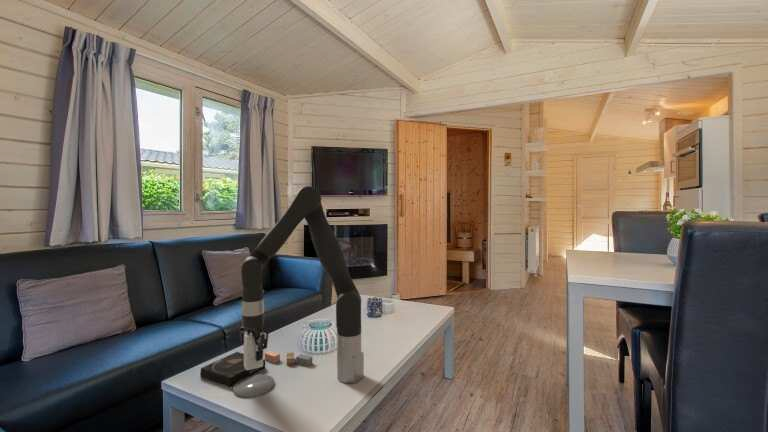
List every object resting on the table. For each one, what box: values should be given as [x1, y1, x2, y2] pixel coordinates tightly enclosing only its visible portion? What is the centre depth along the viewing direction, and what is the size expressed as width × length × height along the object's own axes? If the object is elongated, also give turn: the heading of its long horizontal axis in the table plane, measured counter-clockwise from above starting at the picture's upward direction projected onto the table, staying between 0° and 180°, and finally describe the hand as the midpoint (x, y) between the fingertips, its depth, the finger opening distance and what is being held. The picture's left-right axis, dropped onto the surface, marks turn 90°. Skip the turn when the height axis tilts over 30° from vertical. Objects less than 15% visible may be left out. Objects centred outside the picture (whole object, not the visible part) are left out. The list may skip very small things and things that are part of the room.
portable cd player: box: [199, 351, 266, 388], centre depth 137 cm, size 16×17×4 cm
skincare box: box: [243, 333, 264, 370], centre depth 126 cm, size 6×4×12 cm
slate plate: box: [232, 374, 275, 398], centre depth 127 cm, size 14×14×1 cm
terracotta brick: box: [264, 350, 281, 364], centre depth 148 cm, size 6×3×3 cm, turn 57°
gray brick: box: [295, 353, 313, 367], centre depth 145 cm, size 6×3×3 cm, turn 64°
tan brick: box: [286, 351, 295, 366], centre depth 147 cm, size 6×3×3 cm, turn 15°
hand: (253, 357), depth 126 cm, fingers closed on skincare box, 5 cm apart
